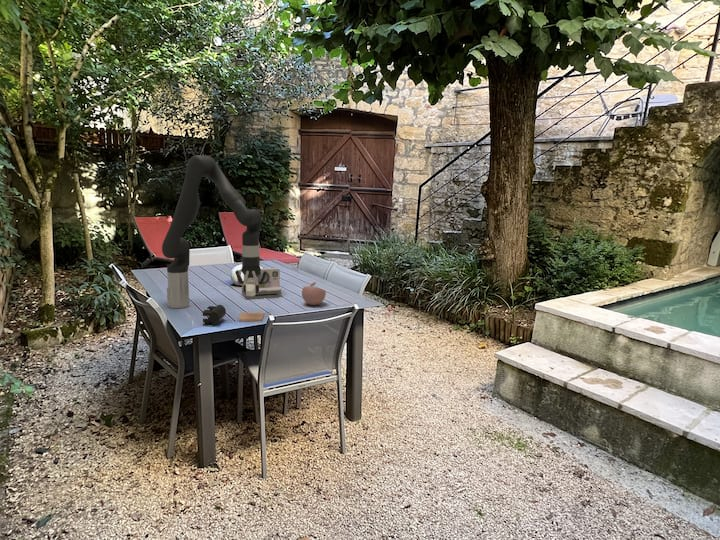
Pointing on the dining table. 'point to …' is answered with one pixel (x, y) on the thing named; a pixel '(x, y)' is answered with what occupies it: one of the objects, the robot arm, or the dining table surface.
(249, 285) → the connector
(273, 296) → the instant camera
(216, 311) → the dark knobbly lump
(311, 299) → the apple
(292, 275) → the dining table surface
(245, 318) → the tile
